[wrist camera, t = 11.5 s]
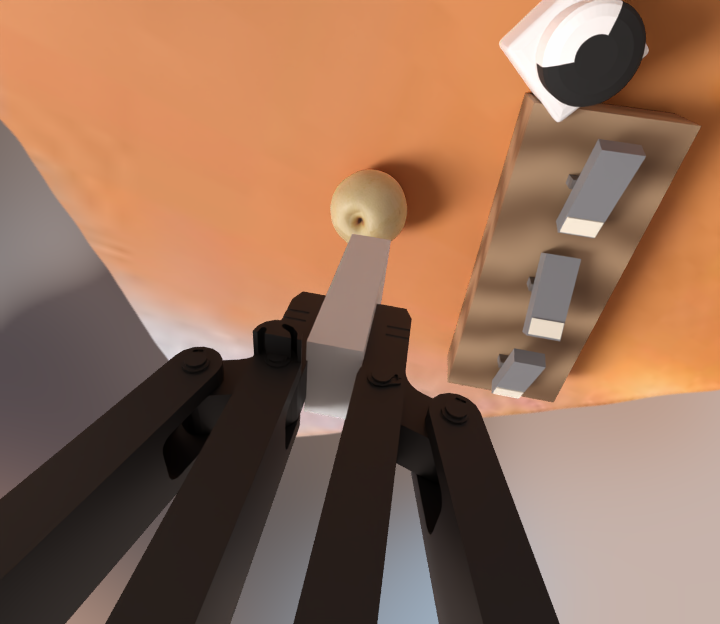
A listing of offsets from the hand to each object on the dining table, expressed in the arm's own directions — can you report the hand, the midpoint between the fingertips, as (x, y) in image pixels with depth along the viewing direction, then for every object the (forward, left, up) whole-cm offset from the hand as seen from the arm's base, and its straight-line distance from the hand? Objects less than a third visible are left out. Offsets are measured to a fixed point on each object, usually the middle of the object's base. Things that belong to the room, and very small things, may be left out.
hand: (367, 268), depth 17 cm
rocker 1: (+24, +16, -23) cm, 36 cm away
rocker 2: (+13, +16, -23) cm, 31 cm away
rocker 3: (+3, +16, -23) cm, 28 cm away
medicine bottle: (-7, +11, -31) cm, 34 cm away
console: (+13, +16, -30) cm, 37 cm away
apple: (+9, -3, -31) cm, 32 cm away
